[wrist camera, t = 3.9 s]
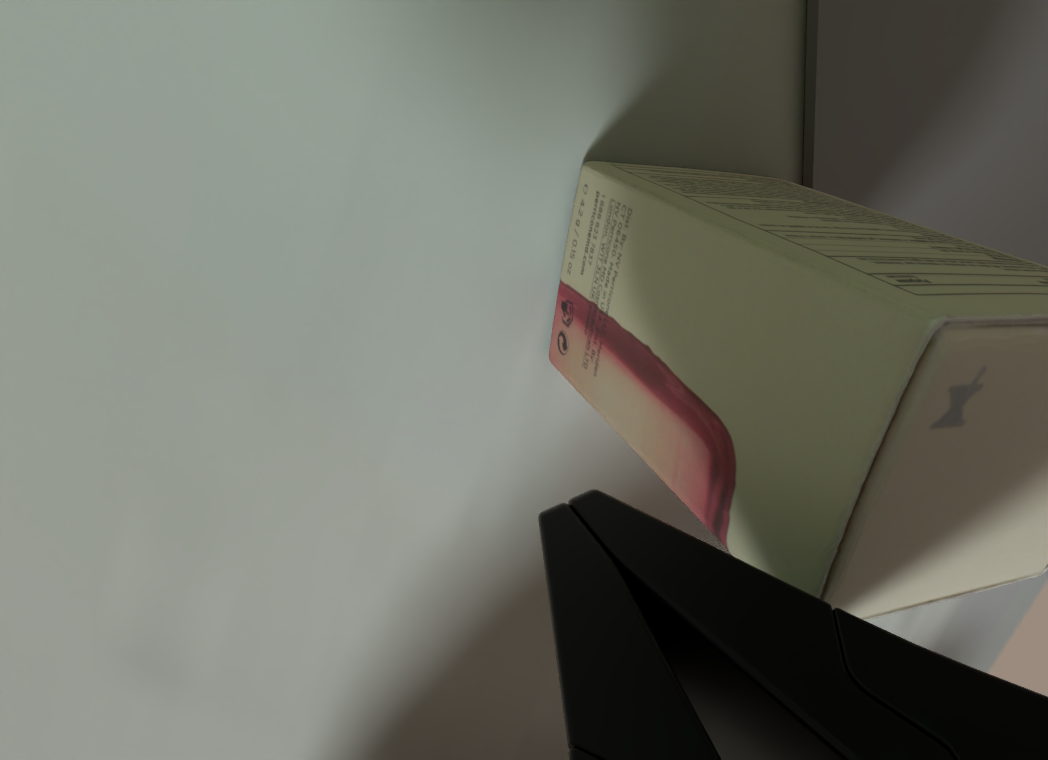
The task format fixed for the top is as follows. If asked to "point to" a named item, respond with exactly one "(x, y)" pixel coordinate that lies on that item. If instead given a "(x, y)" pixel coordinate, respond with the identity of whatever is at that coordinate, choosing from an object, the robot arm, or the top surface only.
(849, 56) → the mat
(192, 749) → the top surface
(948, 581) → the small box
